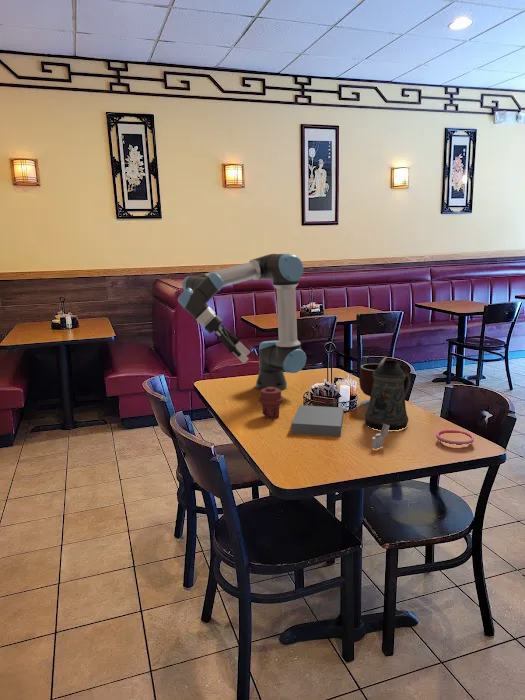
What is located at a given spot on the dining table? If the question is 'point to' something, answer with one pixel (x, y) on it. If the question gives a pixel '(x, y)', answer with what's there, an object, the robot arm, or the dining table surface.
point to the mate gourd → (368, 379)
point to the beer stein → (388, 397)
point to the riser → (318, 421)
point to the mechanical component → (270, 402)
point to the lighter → (380, 437)
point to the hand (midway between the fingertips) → (247, 357)
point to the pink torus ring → (454, 441)
